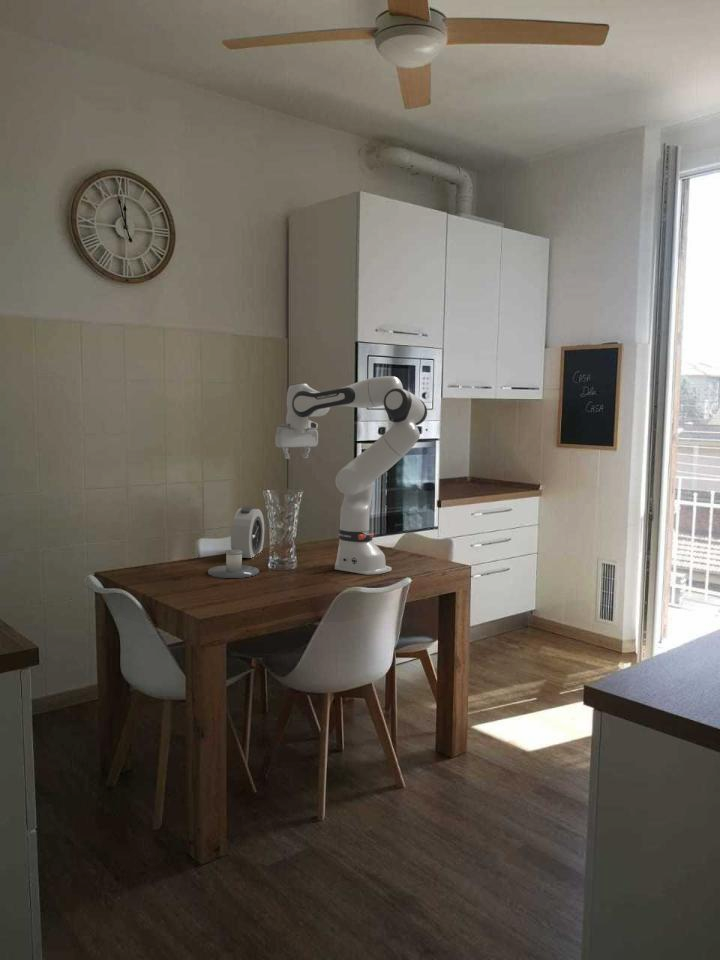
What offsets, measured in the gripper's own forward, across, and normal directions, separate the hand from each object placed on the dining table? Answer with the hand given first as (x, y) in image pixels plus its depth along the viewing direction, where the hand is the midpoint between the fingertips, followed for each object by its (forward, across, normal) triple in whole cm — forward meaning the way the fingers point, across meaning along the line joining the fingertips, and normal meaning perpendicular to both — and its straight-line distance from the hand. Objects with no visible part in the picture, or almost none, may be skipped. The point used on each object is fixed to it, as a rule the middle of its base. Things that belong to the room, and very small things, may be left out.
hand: (296, 458), depth 309 cm
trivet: (+39, -40, -13) cm, 57 cm away
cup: (+38, -40, -13) cm, 57 cm away
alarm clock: (+39, -17, +9) cm, 44 cm away
